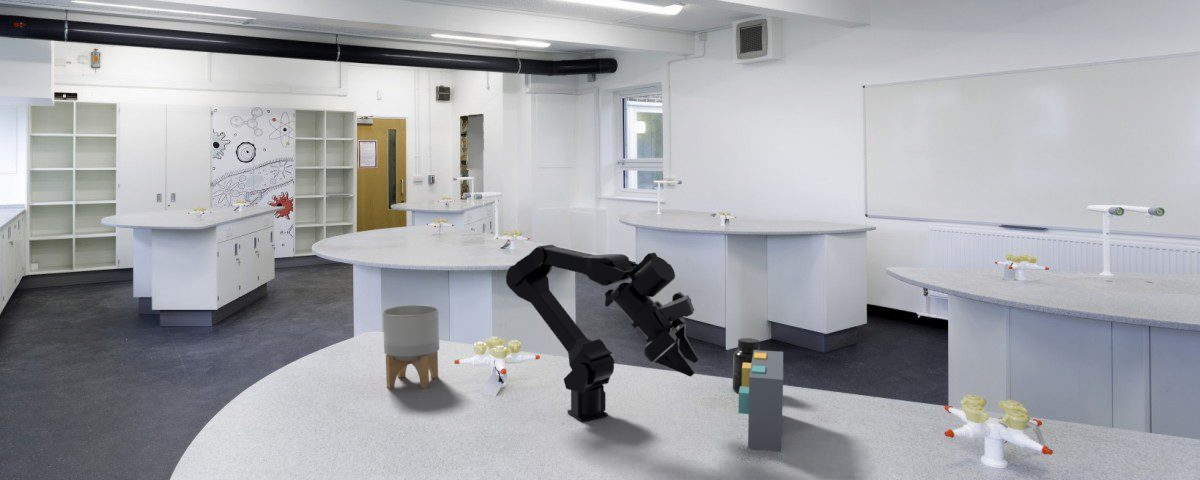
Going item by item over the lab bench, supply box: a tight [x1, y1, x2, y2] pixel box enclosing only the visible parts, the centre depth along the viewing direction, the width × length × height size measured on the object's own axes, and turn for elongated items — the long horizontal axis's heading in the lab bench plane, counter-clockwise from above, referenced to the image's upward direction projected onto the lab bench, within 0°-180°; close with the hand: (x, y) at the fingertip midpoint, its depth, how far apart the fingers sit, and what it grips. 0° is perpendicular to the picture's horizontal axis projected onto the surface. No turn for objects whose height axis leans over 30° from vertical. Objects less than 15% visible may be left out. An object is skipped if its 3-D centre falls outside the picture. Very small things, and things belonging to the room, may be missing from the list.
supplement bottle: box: [732, 337, 760, 394], centre depth 164 cm, size 7×7×12 cm
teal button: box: [738, 386, 749, 415], centre depth 135 cm, size 4×4×4 cm
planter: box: [382, 304, 440, 389], centre depth 171 cm, size 13×13×18 cm
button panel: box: [747, 349, 784, 452], centre depth 139 cm, size 6×20×14 cm, turn 166°
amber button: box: [742, 363, 752, 387], centre depth 144 cm, size 4×4×4 cm
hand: (694, 367), depth 138 cm, fingers open, 9 cm apart
